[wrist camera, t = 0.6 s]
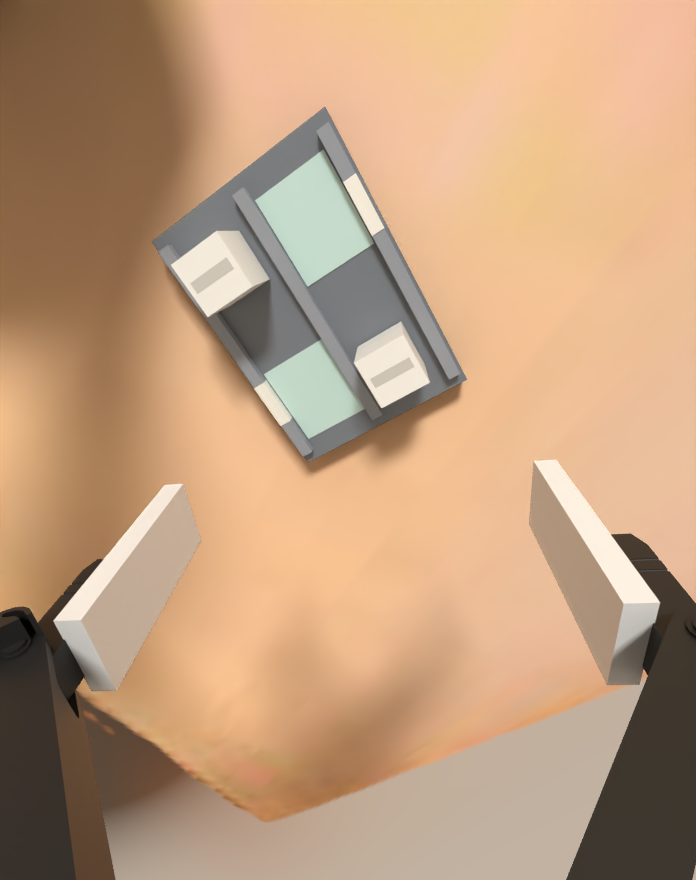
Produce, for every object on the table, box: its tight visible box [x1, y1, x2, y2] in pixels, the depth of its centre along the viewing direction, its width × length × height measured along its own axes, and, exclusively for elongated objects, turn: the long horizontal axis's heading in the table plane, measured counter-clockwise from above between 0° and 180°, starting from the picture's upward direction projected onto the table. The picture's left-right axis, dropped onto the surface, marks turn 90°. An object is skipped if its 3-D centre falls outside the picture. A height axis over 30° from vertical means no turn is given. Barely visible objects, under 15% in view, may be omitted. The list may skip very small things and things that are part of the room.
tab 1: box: [171, 231, 269, 317], centre depth 33 cm, size 4×4×5 cm
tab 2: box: [354, 322, 430, 408], centre depth 34 cm, size 4×4×5 cm
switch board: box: [152, 107, 467, 462], centre depth 36 cm, size 22×16×3 cm
